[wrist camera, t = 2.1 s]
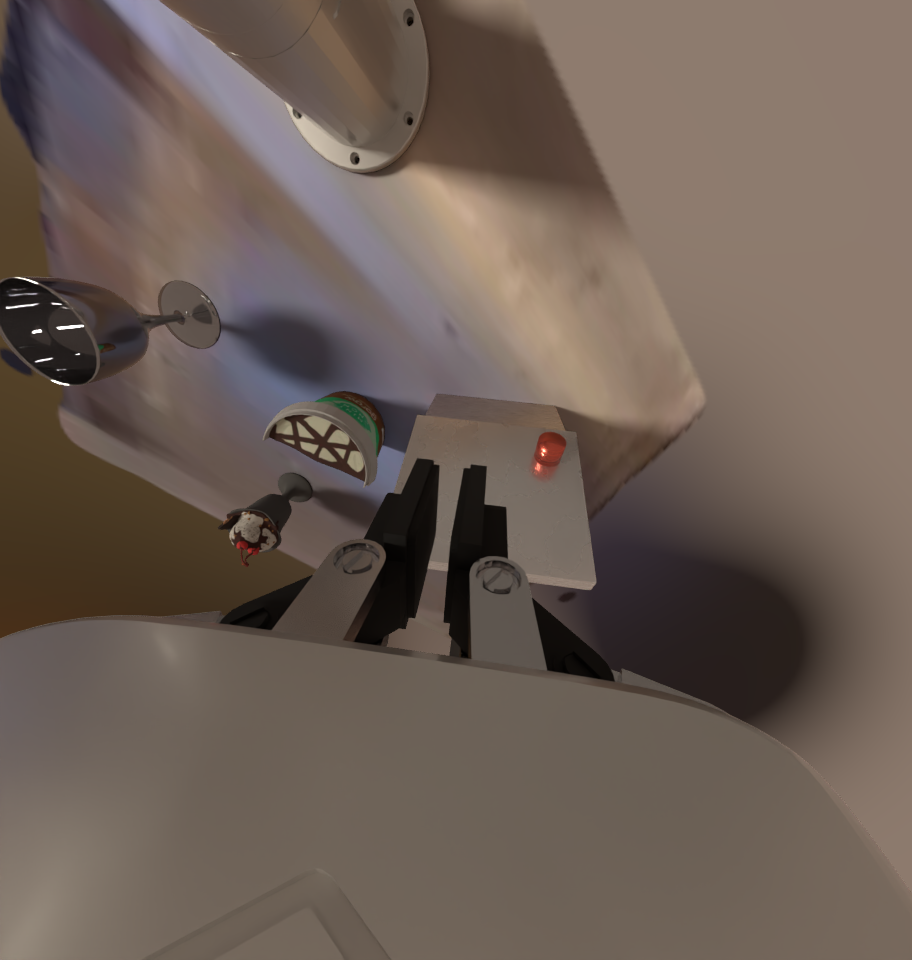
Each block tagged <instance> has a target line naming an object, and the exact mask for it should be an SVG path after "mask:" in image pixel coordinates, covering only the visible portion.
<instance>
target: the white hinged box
mask: <svg viewBox="0 0 912 960" xmlns="http://www.w3.org/2000/svg"><path fill="white" fill-rule="evenodd" d="M425 416H433V417H442V418H451V419H461V420H470V421H479V422H488V423H498V424H507V425H516V426H525V427H535V428H544V429H553V430H562V431H565V428H564V426H563V423H562V421H561V419H560V416H559V414H558V412H557V409H556V407H555V406H551V405H541V404H532V403H522V402H513V401H503V400H493V399H484V398H474V397H465V396H455V395H446V394H436V396H435V398H434V399H433V401H432V403H431V405H430V407H429V409H428V411H427V413H426V415H425Z"/></svg>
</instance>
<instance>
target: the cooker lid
mask: <svg viewBox="0 0 912 960" xmlns="http://www.w3.org/2000/svg"><path fill="white" fill-rule="evenodd" d="M417 458H421V459H429V460H434V464H436V465H439V466H440V470H439V488H438V506H437V524H436V535H435V540H434V544H433V548H432V552H431V556H430V560H429V564H428V568H427V569H434V570H441V571H448V562H449V550H450V542H451V535H452V529H453V524H454V519H455V513H456V508H457V502H458V497H459V492H460V486H461V481H462V475H463V470H464V468H470V466H471V464H473V465H482V466H487V474H486V489H485V504H486V505H495V506H503V507H506V509H507V541H508V559H509V560H512V561H514V562H515V563H517V564H518V565H519V566H520V567H521V568H522V569H523V570H524V571H525V573H526V576H527V578H528V582H532V583H541V584H547V585H555V586H563V587H570V588H578V589H586V590H591V589H592V587H593V586H594V585H595V584H596V576H595V569H594V561H593V554H592V547H591V539H590V531H589V524H588V517H587V509H586V502H585V494H584V487H583V479H582V472H581V464H580V457H579V450H578V442H577V435H576V432H572V431H562V430H553V429H544V428H535V427H525V426H516V425H507V424H498V423H488V422H479V421H470V420H461V419H451V418H442V417H433V416H424V415H417V417H416V420H415V424H414V427H413V430H412V434H411V437H410V440H409V444H408V447H407V450H406V454H405V457H404V460H403V464H402V467H401V470H400V474H399V477H398V480H397V484H396V487H395V490H394V493H396V494H401V493H402V490H403V488H404V486H405V484H406V481H407V479H408V477H409V475H410V473H411V470H412V468H413V466H414V464H415V461H416V459H417ZM459 653H460V647H459V646H458V644H457V643H456V642H455V641H454V640H453V639H452V640H451V648H450V656H453V657H459Z"/></svg>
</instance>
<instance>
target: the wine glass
mask: <svg viewBox="0 0 912 960" xmlns="http://www.w3.org/2000/svg"><path fill="white" fill-rule="evenodd" d="M158 307H159V312H160V315H147V314H143V313H140V312H139V311H137V310H136V309H135V308H134V307H133V306H132V305H131V304H129V303H128V302H127V301H126V300H124V299H123V298H122V297H120V296H118V295H117V294H115V293H113V292H112V291H110V290H107V289H105V288H102V287H99V286H96V285H93V284H88V283H84V282H79V281H75V280H68V279H61V278H46V277H45V278H44V277H11V278H6V279H2V280H0V334H1V336H2V338H3V339H4V341H5V342H6V343H7V345H8V346H9V347H10V348H11V350H12V351H13V352H14V353H15V354H16V355H17V356H18V357H19V358H20V359H21V360H22V361H23V362H24V363H25V364H26V365H28V366H29V367H30V368H31V369H33V370H34V371H36V372H37V373H39V374H40V375H42V376H44V377H46V378H47V379H50V380H52V381H54V382H57V383H59V384H64V385H70V386H77V385H83V384H88V383H91V382H95V381H99V380H102V379H105V378H108V377H111V376H113V375H116V374H118V373H120V372H122V371H124V370H127V369H128V368H130V367H132V366H133V365H135V364H136V363H137V362H138V361H140V360H141V359H142V358H143V356H144V355H145V353H146V351H147V348H148V344H149V332H150V331H151V330H152V329H153V328H155V327H158V326H161V325H164V324H165V325H166V327H167V328H168V330H169V331H170V332H171V333H172V334H173V335H174V336H175V337H176V338H177V339H178V340H180V341H181V342H182V343H184V344H186V345H188V346H190V347H193V348H198V349H204V348H208V347H211V346H212V345H214V344H215V342H216V341H217V340H218V337H219V334H220V321H219V317H218V314H217V312H216V309H215V307H214V306H213V304H212V302H211V301H210V300H209V298H208V297H207V296H206V295H205V294H204V293H203V292H202V291H201V290H199V289H198V288H197V287H195V286H194V285H192V284H190V283H187V282H184V281H171V282H169V283H167V284H165V285H164V286H163V287H162V289H161V290H160V293H159V296H158Z"/></svg>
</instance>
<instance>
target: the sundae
mask: <svg viewBox="0 0 912 960" xmlns="http://www.w3.org/2000/svg"><path fill="white" fill-rule="evenodd" d="M278 486H279V489H280V491H281V493H282V495H276V494H269V495H267V496H265V497H263V498H261V499H259V500H258V501H256V502H255V503H253V504H252V505H250V506H249V507H247V508H246V509H236V510H233V511H231V512H230V513H229V514H227V520H225V521H224V522H223V523H222V525H220V526H219V527H218V529H221V530H223V529H226V530H228V531H229V533H230V539H231V541H232V544H233V545H234V546H235V547H237V548H238V549H240V550H241V560H242V562H243V563H242V565H245V566H246V567H248V565H249V564H248V563H247V562H246V559H247V558H248V557H249V556H250V555H256V554H258V552H269V551H271V550H274V549H275V548H277V547H278V546H279V545H280V543H281V536H280V532H281V530H282V528H283V526H284V525H285V523H286V522H287V520H288V518H289V516H290V514H291V506H290V503H289V500H291V501H294V502H304V501H307V500H308V499H309V498H310V496H311V493H312V492H311V487H310V485H309V483H308V482H307V481H306V480H305V479H304V478H303V477H301V476H300V475H297V474H294V473H286V474H284V475H282V476H281V477H280V478H279V481H278ZM242 550H248V552H249V553H250V554H249V555H248V556H246V558H245V562H246V563H245V562H244V561H243V557H242Z"/></svg>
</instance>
